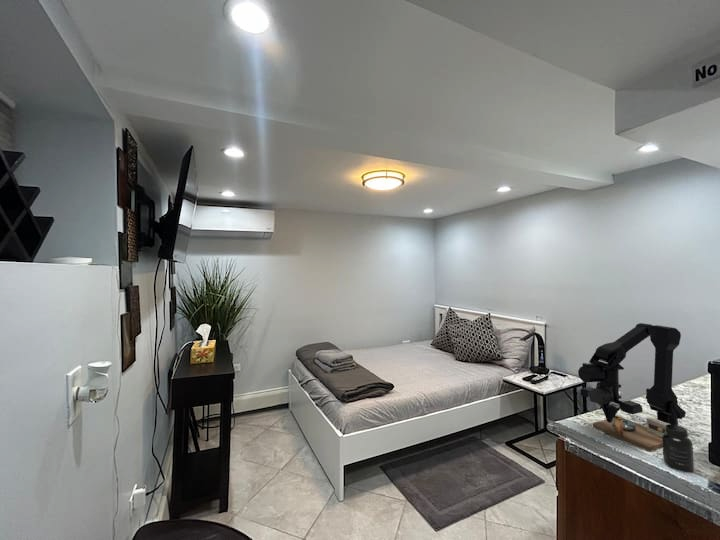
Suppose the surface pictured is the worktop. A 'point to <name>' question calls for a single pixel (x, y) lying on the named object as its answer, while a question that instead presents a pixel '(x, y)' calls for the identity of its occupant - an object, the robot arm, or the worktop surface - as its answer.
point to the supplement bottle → (677, 448)
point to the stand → (638, 433)
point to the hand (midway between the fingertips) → (609, 422)
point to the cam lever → (622, 425)
